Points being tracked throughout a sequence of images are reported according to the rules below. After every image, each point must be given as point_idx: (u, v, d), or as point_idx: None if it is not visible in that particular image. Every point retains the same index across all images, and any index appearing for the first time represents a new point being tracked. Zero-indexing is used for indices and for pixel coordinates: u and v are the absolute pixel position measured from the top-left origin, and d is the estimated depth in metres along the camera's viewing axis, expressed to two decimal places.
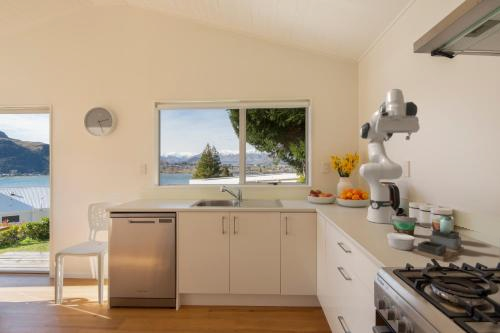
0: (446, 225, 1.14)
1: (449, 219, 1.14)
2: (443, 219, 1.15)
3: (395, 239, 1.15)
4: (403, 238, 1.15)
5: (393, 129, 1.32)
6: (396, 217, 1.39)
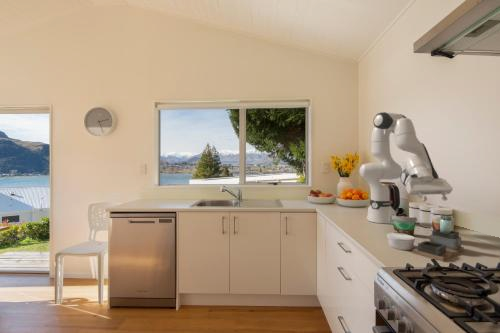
0: (446, 225, 1.14)
1: (449, 219, 1.14)
2: (443, 219, 1.15)
3: (395, 239, 1.15)
4: (403, 238, 1.15)
5: (427, 189, 1.28)
6: (396, 217, 1.39)
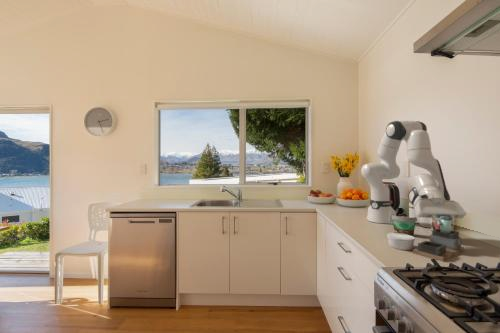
0: (446, 225, 1.14)
1: (449, 219, 1.14)
2: (443, 219, 1.15)
3: (395, 239, 1.15)
4: (403, 238, 1.15)
5: (438, 213, 1.18)
6: (396, 217, 1.39)
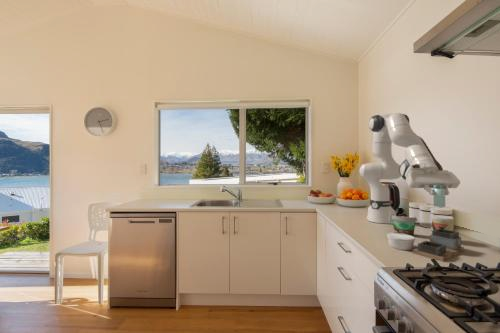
0: (440, 194, 1.06)
1: (443, 187, 1.06)
2: (436, 188, 1.07)
3: (395, 239, 1.15)
4: (403, 238, 1.15)
5: (431, 182, 1.10)
6: (396, 217, 1.39)
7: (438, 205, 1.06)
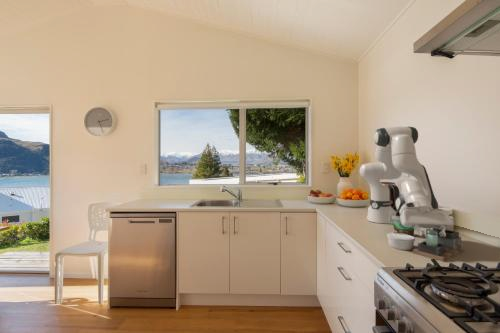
0: (432, 240, 1.06)
1: (435, 234, 1.06)
2: (428, 234, 1.07)
3: (395, 239, 1.15)
4: (403, 238, 1.15)
5: (424, 222, 1.10)
6: (396, 217, 1.39)
7: None
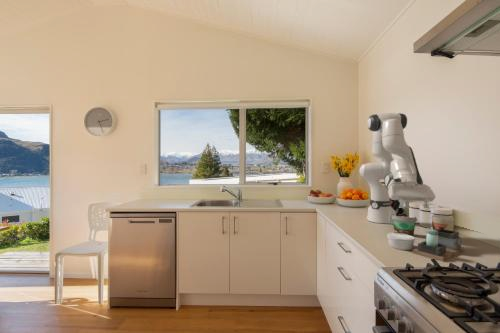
0: (432, 240, 1.06)
1: (436, 234, 1.06)
2: (429, 234, 1.07)
3: (395, 239, 1.15)
4: (403, 238, 1.15)
5: (409, 195, 1.23)
6: (396, 217, 1.39)
7: None
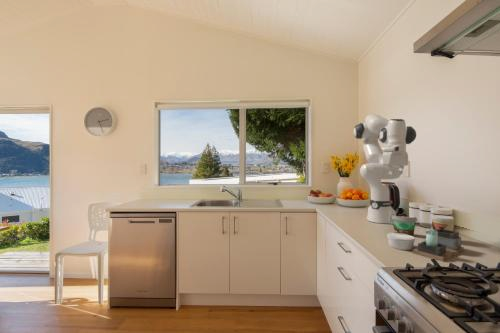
0: (432, 240, 1.06)
1: (435, 234, 1.06)
2: (428, 234, 1.07)
3: (395, 239, 1.15)
4: (403, 238, 1.15)
5: (397, 164, 1.34)
6: (396, 217, 1.39)
7: None
